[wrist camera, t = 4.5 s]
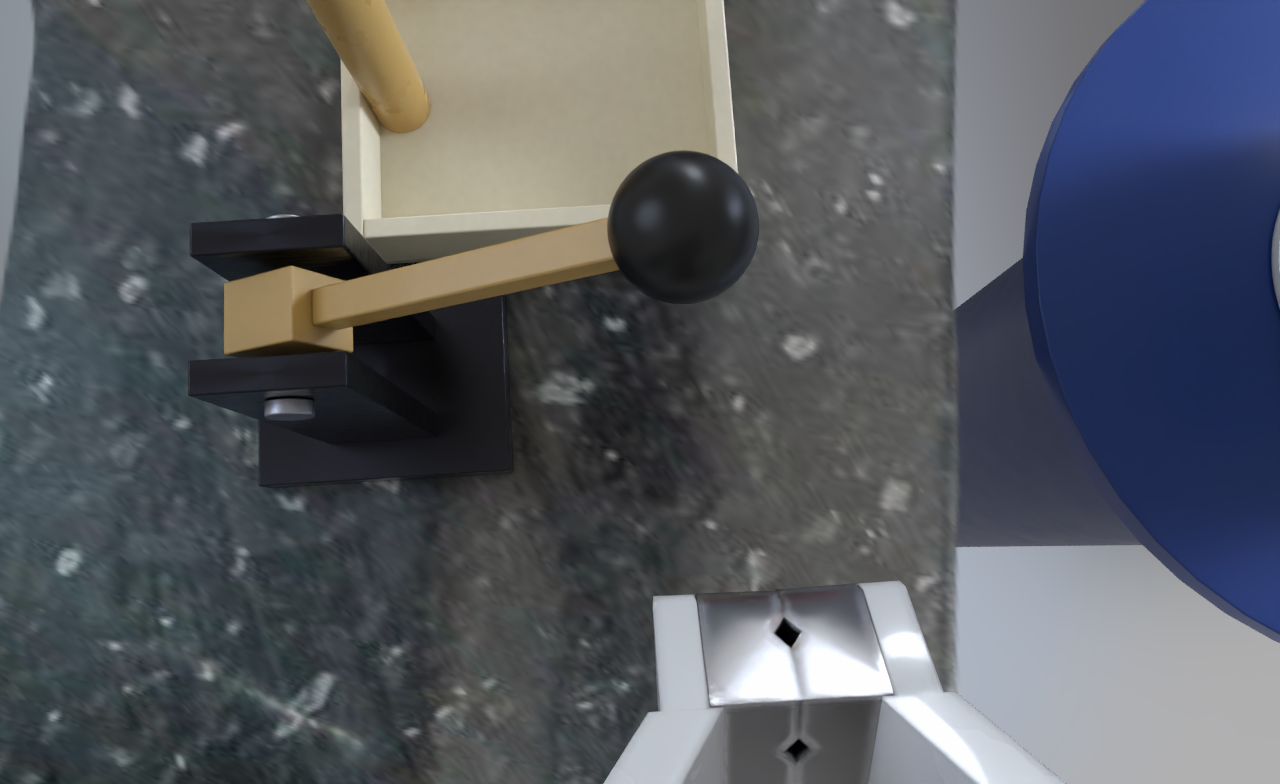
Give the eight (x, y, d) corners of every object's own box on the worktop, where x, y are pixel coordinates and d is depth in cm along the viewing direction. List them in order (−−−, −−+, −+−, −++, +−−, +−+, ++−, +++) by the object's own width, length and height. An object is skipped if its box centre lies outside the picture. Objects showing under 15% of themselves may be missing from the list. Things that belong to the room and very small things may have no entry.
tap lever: (774, 162, 24) (716, 109, 21) (786, 303, 24) (728, 270, 21) (301, 280, 32) (205, 254, 29) (302, 390, 31) (205, 376, 28)
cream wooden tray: (709, -48, 44) (715, -100, 41) (733, 243, 42) (741, 215, 39) (362, -28, 44) (337, -78, 41) (368, 265, 42) (343, 239, 38)
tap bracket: (505, 284, 42) (441, 156, 28) (513, 472, 41) (450, 433, 27) (269, 299, 42) (90, 177, 28) (270, 488, 41) (83, 456, 27)
